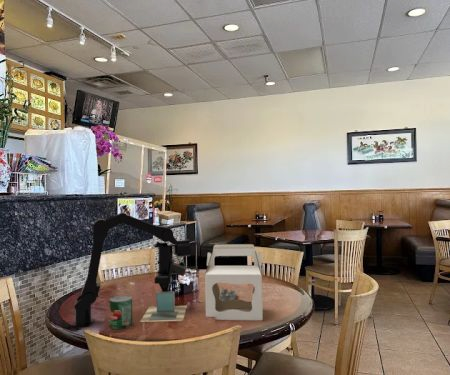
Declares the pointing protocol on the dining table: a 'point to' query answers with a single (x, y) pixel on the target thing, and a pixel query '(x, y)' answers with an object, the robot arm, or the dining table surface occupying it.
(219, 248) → the gable box
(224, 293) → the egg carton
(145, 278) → the dining table surface
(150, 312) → the board
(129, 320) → the canned tomato
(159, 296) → the tile
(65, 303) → the dining table surface
